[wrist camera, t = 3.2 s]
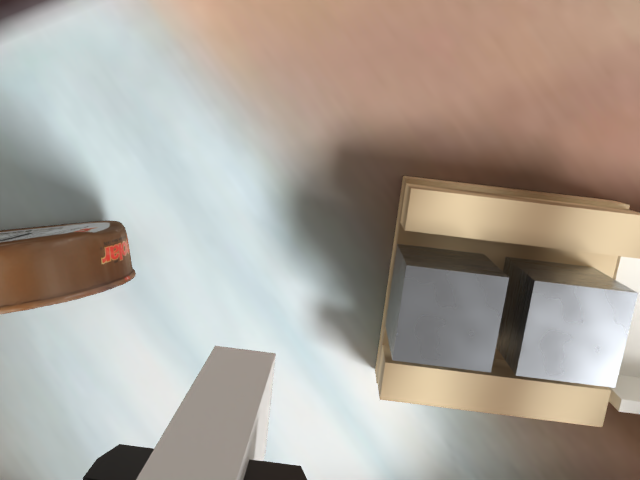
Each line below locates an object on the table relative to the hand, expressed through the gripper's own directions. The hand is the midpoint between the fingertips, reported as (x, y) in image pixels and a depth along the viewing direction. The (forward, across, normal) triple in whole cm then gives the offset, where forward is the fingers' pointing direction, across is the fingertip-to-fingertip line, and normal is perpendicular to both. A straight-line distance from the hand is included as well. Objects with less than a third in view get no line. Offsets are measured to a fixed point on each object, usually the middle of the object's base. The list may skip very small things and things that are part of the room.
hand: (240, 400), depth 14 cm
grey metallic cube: (+13, +7, 0) cm, 14 cm away
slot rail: (+14, +10, 0) cm, 17 cm away
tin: (+14, -14, -1) cm, 20 cm away
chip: (+13, +12, 0) cm, 17 cm away
